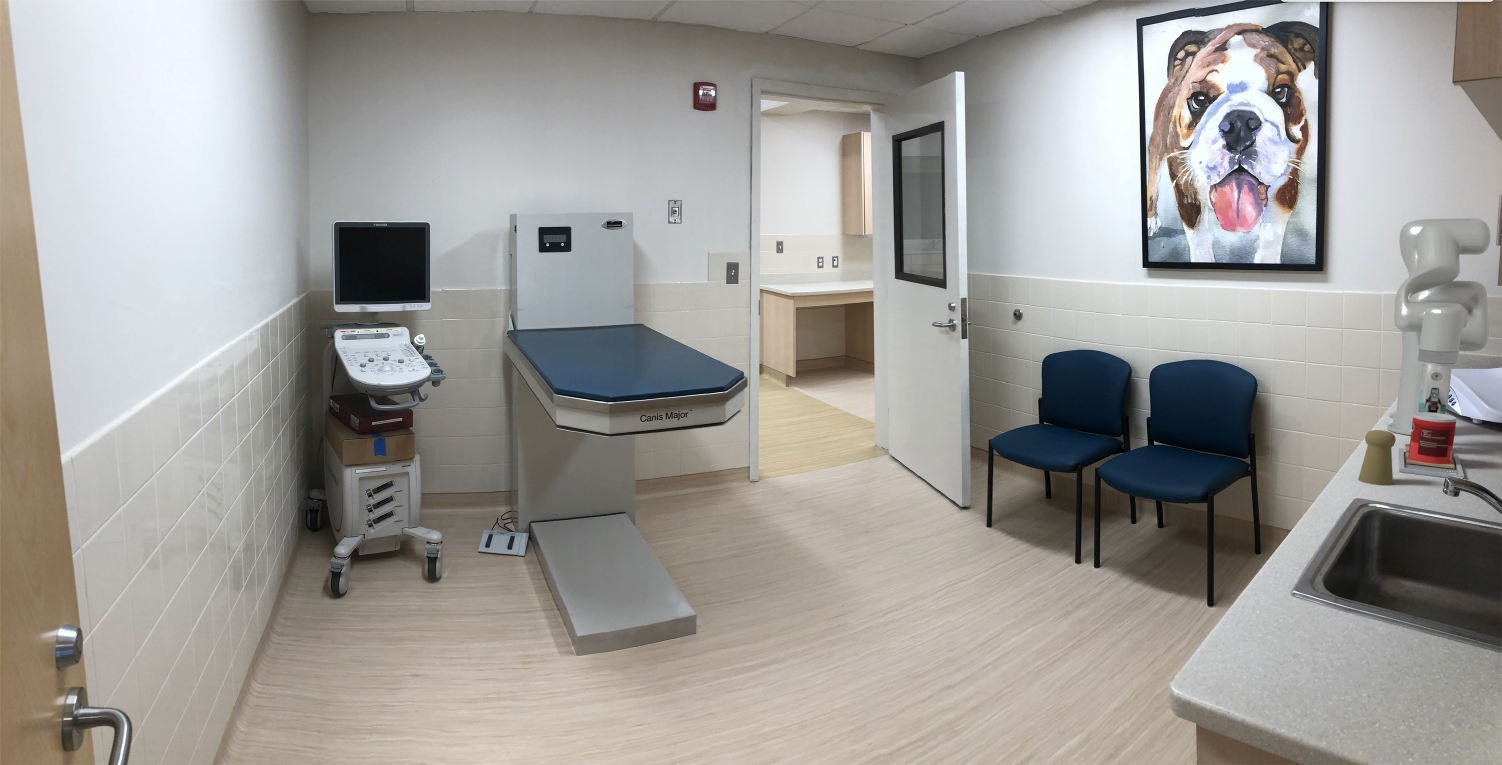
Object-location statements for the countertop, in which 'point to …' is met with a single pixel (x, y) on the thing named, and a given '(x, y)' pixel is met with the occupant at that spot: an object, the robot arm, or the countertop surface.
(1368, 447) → the cork
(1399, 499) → the countertop surface
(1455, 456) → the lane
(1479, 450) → the countertop surface
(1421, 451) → the canned food
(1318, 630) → the countertop surface
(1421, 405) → the teal upright with base
